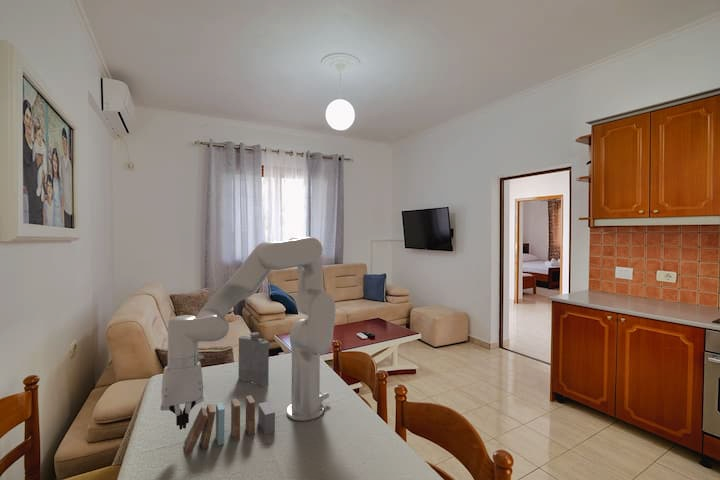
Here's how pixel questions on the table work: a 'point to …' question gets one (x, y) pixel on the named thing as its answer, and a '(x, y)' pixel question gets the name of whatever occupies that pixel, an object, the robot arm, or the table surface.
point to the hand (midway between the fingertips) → (182, 426)
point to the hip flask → (254, 359)
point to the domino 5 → (250, 415)
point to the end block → (266, 417)
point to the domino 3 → (220, 423)
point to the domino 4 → (235, 419)
